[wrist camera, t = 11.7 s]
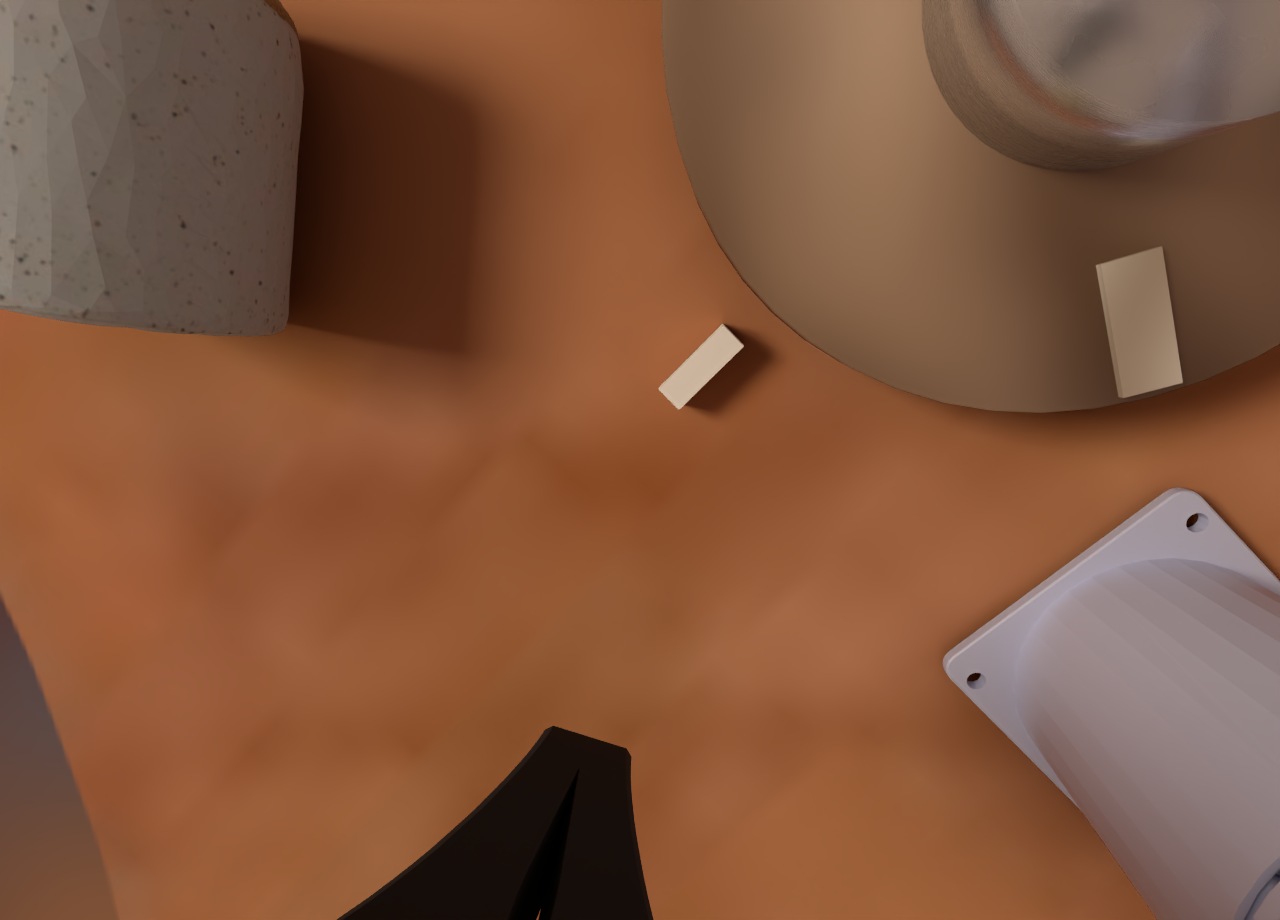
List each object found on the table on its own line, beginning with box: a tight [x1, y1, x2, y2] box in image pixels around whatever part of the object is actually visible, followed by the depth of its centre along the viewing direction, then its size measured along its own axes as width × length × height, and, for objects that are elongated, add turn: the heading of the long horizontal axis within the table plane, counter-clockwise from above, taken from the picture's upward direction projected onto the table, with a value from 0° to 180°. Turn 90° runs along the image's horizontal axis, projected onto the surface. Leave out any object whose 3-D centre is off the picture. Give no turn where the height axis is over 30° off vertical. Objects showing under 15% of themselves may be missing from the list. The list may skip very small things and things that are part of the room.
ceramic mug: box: [0, 0, 304, 336], centre depth 15 cm, size 11×8×8 cm
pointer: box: [659, 324, 744, 409], centre depth 18 cm, size 1×2×1 cm, turn 136°
